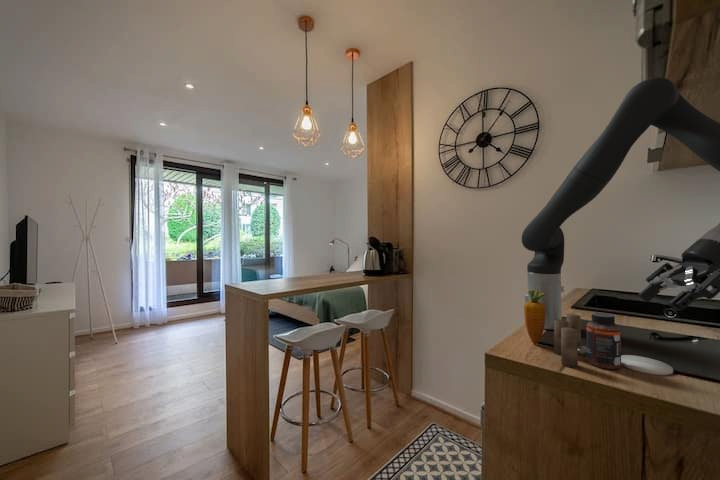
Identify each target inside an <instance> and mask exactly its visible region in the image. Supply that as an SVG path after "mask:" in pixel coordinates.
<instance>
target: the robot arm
mask: <svg viewBox="0 0 720 480" xmlns="http://www.w3.org/2000/svg"><path fill="white" fill-rule="evenodd" d="M651 126H653V127H655V128H657V129H659V130H661V131H663V132H664V133H666V134H668V135H670V136H671V137H673V138H675V139H676V140H677V141H679V142H680V143H681V144H683V146H685V147H686V148H688V150H690V151H691V152H693V154H695V155H696V156H697V157H698V158H700V159H701V160H702V161H703V162H704V163H706V164H708V165H709V166H710V167H712V168H714V169H715V170H717V171H718V172H720V122H719V121H718V120H715V119H713V118H711V117H710V116H708V115H706V114H704V113H703V112H702V111H700V110H698V109H697V108H696V107H695V106H694V105H692V104H691V103H690V102H689V101H688V100H687V99H686V98H685V97H684V96H683V95H682V94H681V93H680V91H679V90H678V87H677V85H676V84H675V83H674V82H673V81H672V80H670V79H669V78H666V77H661V76H655V77H650V78H647V79H644V80H643V81H641V82H639V83H637V84H636V85H634V86H633V87H632V88H631V89H630V90H628V92H627V93H626V95H625V96H624V98H623V99H622V101H621V102H620V105H619V106H618V108H617V109H616V111H615V113H614V114H613V116H612V118H611V119H610V121H609V122H608V124H607V125H606V127H605V128H604V130H603V131H602V132H601V134H600V135H599V136H598V137H597V139H596V140H595V141H593V143H592V144H591V145H590V146H589V148H588V149H587V151H586V152H584V154H583V155H582V157H580V159H579V160H578V162H576V164H575V165H574V166H573V168H572V169H571V170H570V172H569V173H568V174H567V175H566V178H565V179H564V180H563V182H562V183H561V184H560V186H559V187H558V189H557V190H556V191H555V192H554V194H552V196H551V198H550V199H549V201H548V202H547V203H546V204H545V206H544V207H543V208H542V209H541V210H540V212H538V214H537V215H536V216H535V217H534V218H533V219H532V220H531V221H530V222H529V223H528V224H527V226H526V227H525V228H524V229H523V230H522V234H521V243H522V246H523V248H525V249H526V250H528V251H530V252H534V256H533V258H532V259H531V260H530V261H529V262H528V263H527V267H526V271H527V273H526V274H527V275H526V276H527V277H526V278H527V293H526V294H525V295H524V304H525V303H526V302H530V301H531V297H530V294H529V291H530V290H531V289H534V297H535V294H536V291H537V290H539V293H538V296H539V295H540V294H542V293H544V294H545V295H544V296H542V297H541V298H540V299H539V300H538V302H540V303H542V304H543V305H544V306H545V325H544V330H553V331H554V320H557V319H558V320H563V319H562V318H563V317H562V314H563V313H562V267H563V265H564V261H565V260H564V259H565V235H564V231H563V229H562V228H561V227H562V225H563V224H564V223H565V221H566V220H568V219H569V218H570V217H571V216H572V215H574V214H575V213H577V212H578V211H580V210H581V209H583V208H584V207H585V206H586V205H588V204H589V203H591V202H592V201H593V200H594V199H595V198H596V197H597V196H598V195H600V193H601V192H602V191H603V189H605V188H606V186H607V185H608V184H609V183H610V182H611V180H612V179H613V178H614V176H615V174H616V173H617V172H618V171H619V169H620V167H621V166H622V164H623V162H624V160H625V158H626V157H627V155H628V153H629V151H631V149H632V147H633V146H634V144H635V143H636V142H637V140H639V138H640V137H641V136H642V135H643V134H644V133H645V132H646V131H647V130H648V129H649V128H650V127H651ZM681 258H682V262H680V263H679V264H676V265H675V266H674V265H671V264H670V263H669V262H665V263H664V264H662V265H661V266H660V267H659V268H657V269H656V270H655V271H654V272H653V273H651V274H650V275H649V276H648V277H646V278H645V281H646V282H647V283H648V286H646V287H645V288H644V289H643V290H642V291H640V292H639V293H638V294H637V296H638V298H640V299H641V300H642V301H643V302H647V303H648V302H650V301H651V300H652V299H654V298H655V297H656V296H657V295H658V294H660V293H661V292H662V291H663V290H667V289H668V288H671V289H675V288H678V287H685V291H684V290H682V291H680V292H679V293H678V294H677V295H676V296H674V298H672V299H670V300H669V302H668V305H669V306H670V307H671V308H672V309H674V310H675V311H678V312H681V311H683V310H684V309H686V308H687V307H689V306H690V305H691V304H692V303H693V302H695V301H696V300H701V299H703V298H706V299H707V300H711V299H714V298H715V297H716V296H717V295H718V294H720V222H719V223H718V224H717V225H715V226H714V227H713V228H711V229H710V230H708V231H706V232H705V233H704V234H703V235H702V236H701V237H699V238H698V239H697V240H696V241H694V243H693V244H691V245H690V246H689V247H688V248H686V249H685V250H684V251H682V253H681ZM709 287H711V289H710V290H709V289H708V288H709Z"/></svg>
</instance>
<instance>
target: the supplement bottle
mask: <svg viewBox="0 0 720 480" xmlns="http://www.w3.org/2000/svg"><path fill="white" fill-rule="evenodd" d="M621 336H622V332H621V327H620V326H619V325H617V324H616V320H615V315H614V314H612V313H607V312H592V313H591V320H590V321H589V322H587V323H586V347H587V356H586V359H587V362H588V363H589V364H591V366H592V365H593V366H595V367H598V368H601V369H607V370H619V369H621V367H622V365H621V355H622V341H621V340H622V339H621V338H622V337H621Z"/></svg>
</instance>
